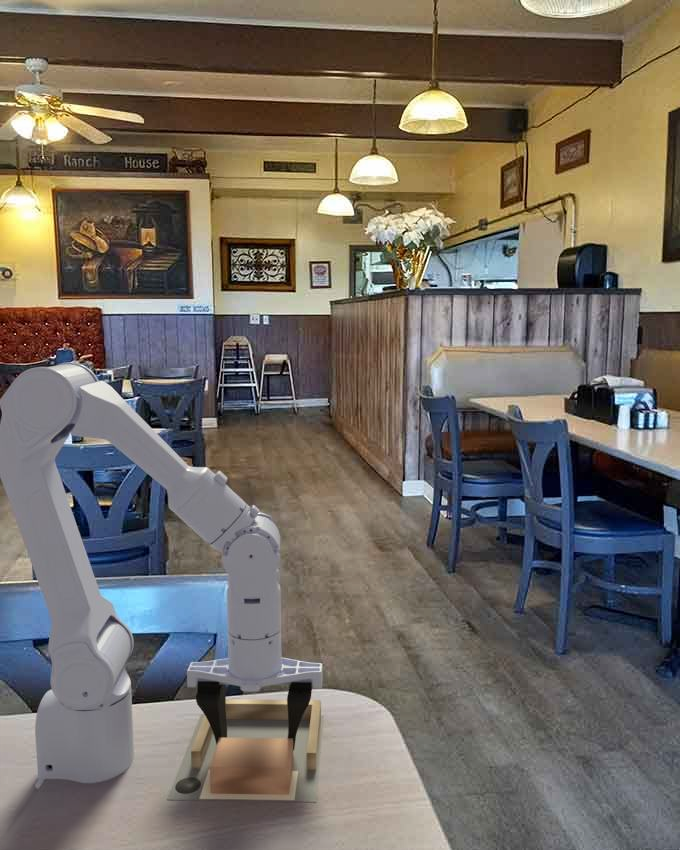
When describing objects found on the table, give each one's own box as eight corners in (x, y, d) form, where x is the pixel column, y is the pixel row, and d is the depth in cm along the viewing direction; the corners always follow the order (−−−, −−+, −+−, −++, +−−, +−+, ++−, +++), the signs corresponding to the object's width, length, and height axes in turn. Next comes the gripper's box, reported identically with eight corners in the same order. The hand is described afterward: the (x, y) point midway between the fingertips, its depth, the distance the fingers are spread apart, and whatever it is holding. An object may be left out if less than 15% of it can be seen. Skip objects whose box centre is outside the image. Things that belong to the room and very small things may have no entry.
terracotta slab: (210, 793, 71) (209, 766, 70) (220, 762, 76) (219, 737, 75) (288, 795, 71) (288, 767, 70) (293, 763, 76) (293, 738, 75)
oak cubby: (191, 768, 75) (190, 751, 75) (211, 714, 85) (211, 699, 85) (316, 770, 75) (315, 752, 74) (321, 715, 85) (321, 700, 85)
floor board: (167, 805, 70) (167, 799, 70) (201, 718, 85) (201, 714, 85) (316, 807, 70) (316, 801, 70) (323, 720, 85) (323, 715, 85)
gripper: (178, 644, 71) (182, 767, 73) (319, 646, 71) (320, 768, 73) (193, 616, 78) (197, 728, 80) (323, 617, 78) (323, 729, 80)
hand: (256, 745), depth 77 cm, fingers open, 7 cm apart
